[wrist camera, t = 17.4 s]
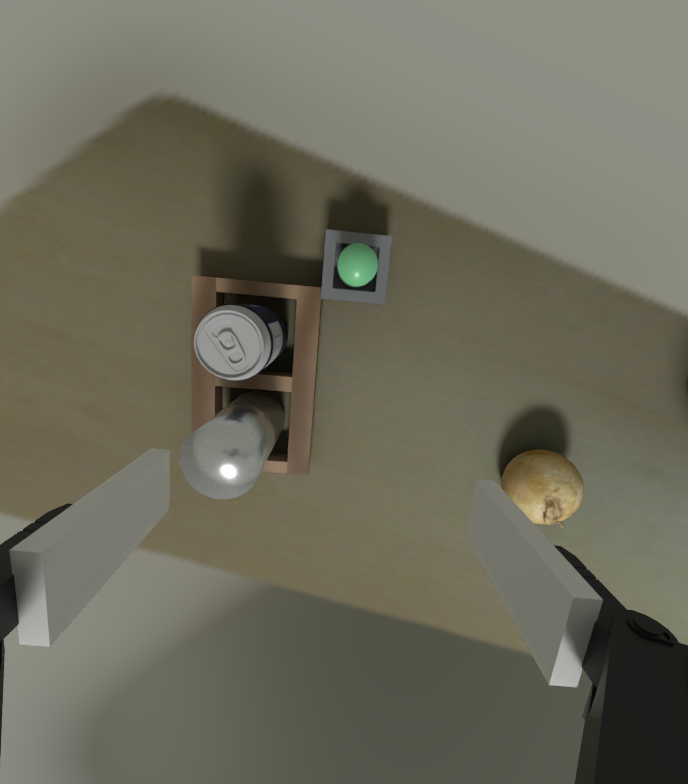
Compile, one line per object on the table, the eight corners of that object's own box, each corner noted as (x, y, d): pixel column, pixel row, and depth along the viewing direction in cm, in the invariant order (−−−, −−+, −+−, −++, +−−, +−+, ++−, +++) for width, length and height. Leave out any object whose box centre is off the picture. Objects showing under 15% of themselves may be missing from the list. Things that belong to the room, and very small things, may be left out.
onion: (487, 451, 41) (518, 480, 34) (556, 434, 41) (601, 459, 34) (498, 512, 43) (530, 552, 36) (564, 496, 43) (609, 532, 36)
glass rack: (322, 289, 36) (321, 287, 34) (309, 464, 41) (308, 474, 38) (200, 277, 36) (191, 275, 33) (200, 457, 40) (192, 466, 38)
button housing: (387, 242, 36) (392, 236, 33) (380, 304, 37) (384, 304, 34) (326, 235, 35) (325, 229, 32) (321, 299, 37) (320, 298, 34)
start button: (375, 250, 33) (380, 245, 30) (371, 288, 34) (375, 287, 31) (339, 247, 33) (339, 241, 30) (335, 285, 34) (336, 283, 31)
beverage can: (273, 295, 36) (246, 289, 25) (298, 347, 38) (283, 364, 26) (223, 319, 37) (172, 324, 25) (249, 369, 38) (212, 396, 26)
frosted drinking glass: (287, 395, 39) (263, 430, 27) (281, 447, 40) (256, 503, 28) (231, 387, 38) (182, 419, 27) (227, 440, 40) (178, 493, 28)
